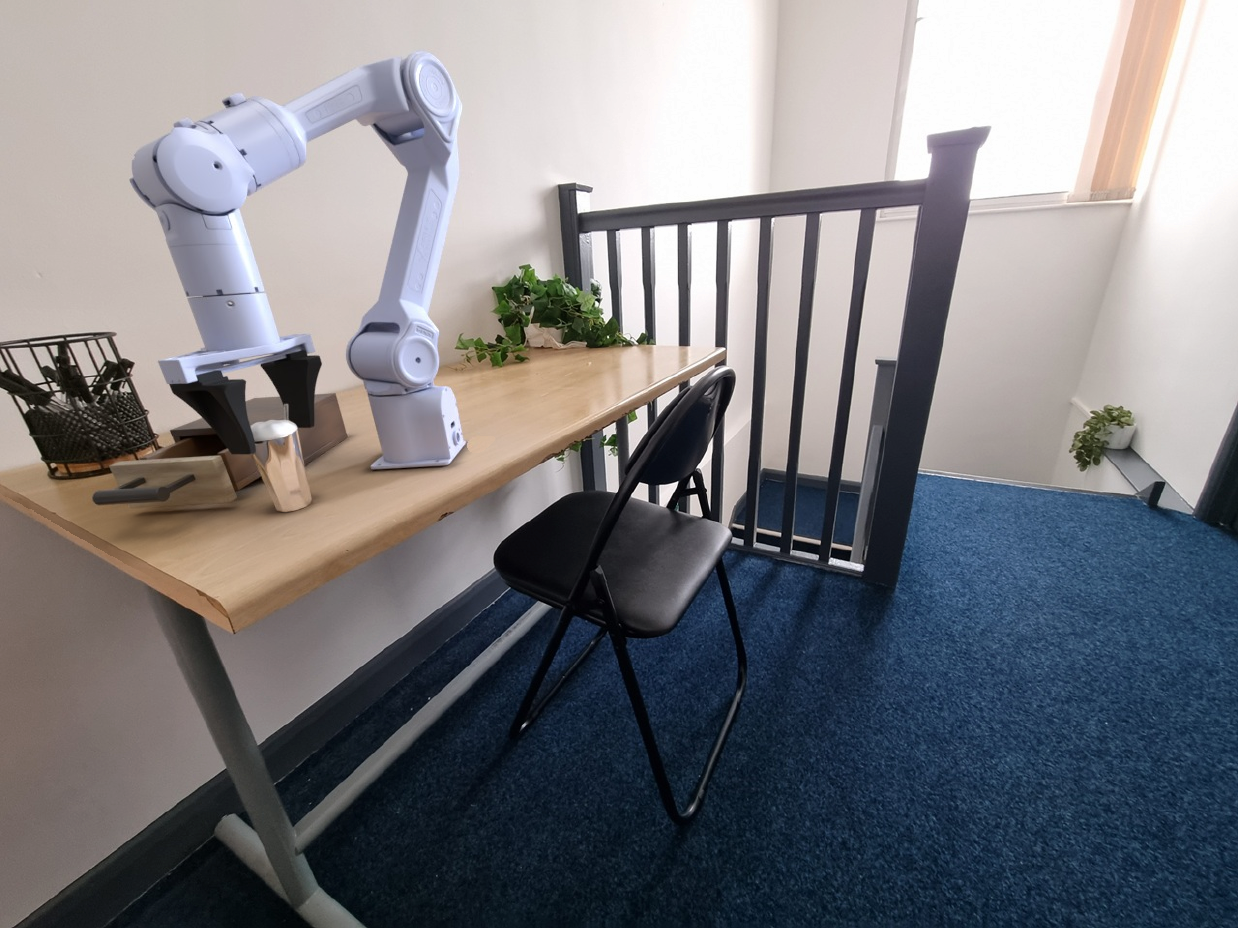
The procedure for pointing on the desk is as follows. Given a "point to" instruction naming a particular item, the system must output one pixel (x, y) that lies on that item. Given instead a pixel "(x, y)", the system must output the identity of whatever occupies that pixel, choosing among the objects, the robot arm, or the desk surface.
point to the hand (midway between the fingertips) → (276, 439)
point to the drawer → (181, 475)
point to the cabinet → (271, 408)
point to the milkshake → (281, 463)
